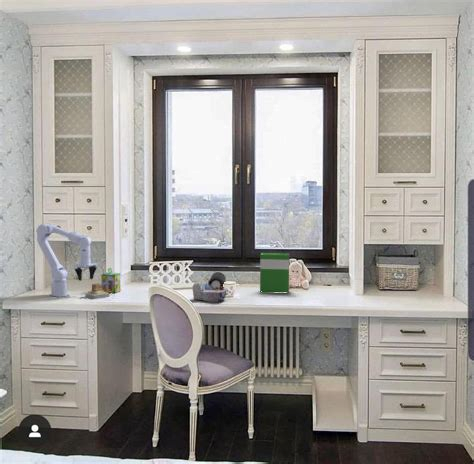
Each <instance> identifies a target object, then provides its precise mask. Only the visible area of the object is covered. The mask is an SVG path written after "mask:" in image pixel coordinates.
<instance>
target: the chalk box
mask: <svg viewBox="0 0 474 464" xmlns="http://www.w3.org/2000/svg"><path fill="white" fill-rule="evenodd" d="M107 271H108V272H105V273H101V274H100V275H101V277H100V278H101V284H102V291H104V292H105V293H109V294H115V293H116V294H117V293H119V292H121V290H122V289H121V273H120V272H113V270H112V268H111V267H110V268H108V269H107Z"/></svg>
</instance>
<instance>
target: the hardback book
mask: <svg viewBox="0 0 474 464" xmlns="http://www.w3.org/2000/svg"><path fill="white" fill-rule="evenodd" d="M259 259H260V261H259V262H260V264H259V265H260V266H259V267H260V268H259V270H260V273H259V274H260V275H259V277H260V278H259V279H260V280H259V293H260V292H261V291H262V292H288V293H290V253H277V252H276V253H275V252H273V253H272V252H261V253H260V257H259Z"/></svg>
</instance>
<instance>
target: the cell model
mask: <svg viewBox="0 0 474 464" xmlns="http://www.w3.org/2000/svg"><path fill="white" fill-rule="evenodd" d="M227 292H229V289H227V288H226V289H225V288H224V287H222V286H221V287H220V289H218V287H216V288H215V289H214V287H213V286H212V285H208V282H207V281H198V282H195V283H194V284H193V285H192V294H193V300H199V301H202V300H203V302H206V301H211V302H210V303H219V302H218V301H220V302H223V301H224V300H225V299H226V298H227V296H226V295H228V293H227ZM223 299H224V300H223Z"/></svg>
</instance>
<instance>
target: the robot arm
mask: <svg viewBox="0 0 474 464" xmlns="http://www.w3.org/2000/svg"><path fill="white" fill-rule="evenodd" d="M52 234H58V235H60V236H63V237H66V238H67V239H68V241H70V242H72V243H75V244H77V245H79V246H80V247H79V249H80V252H79V253H80V263H79V264H75V265H73V269H74V271H75V273H76V276H77V278H78V281H82V278H83V277H82V276H83V269H85V268H86V269H87V268H88V270H89V279H90V280H93V279H94V275H95V273H96V271H97V268H98V263H96V262H95V263H91V262H92V261H91V244H92V239H91V237H89V236H88V235H84V234H81V233H78V232H77V231H74V230H73V231H68V230H65V228H64V229H63V228H62V227H59V226H57V225H54V224H51V223H44V224H43V223H42V224H40V225H38V227H37V228H36V237H37V238H36V241H37V244H38V246H39V247H40V250H41V252H42V253H43V255H44V257H45V259H46V261H47V262H48V264H49V267H50V273H51V277H52V279H53V281H52V282H51V289H50V291H51V292H50V294H49V296H53V297H57V298H59V297H60V298H61V297H67V296H70V294H68V293H67V292H68V289H67V287H68V286H67V285H68V282H67V277H68V275H69V272H68V270H67V269H66V268H64V266H63V265H62V264H60V262H59V260H58V258H57V256H56V255H55V253H54V250H53V249H52V247H51V245H50V243H49V241H48V240H49V237H50V236H51V235H52Z"/></svg>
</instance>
